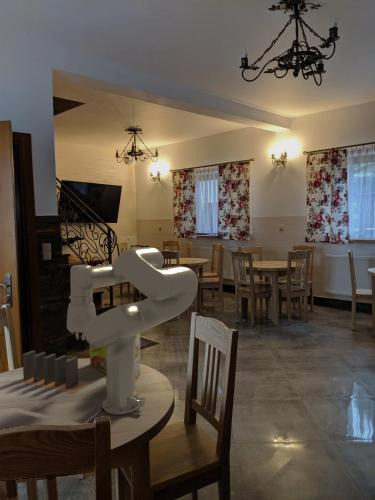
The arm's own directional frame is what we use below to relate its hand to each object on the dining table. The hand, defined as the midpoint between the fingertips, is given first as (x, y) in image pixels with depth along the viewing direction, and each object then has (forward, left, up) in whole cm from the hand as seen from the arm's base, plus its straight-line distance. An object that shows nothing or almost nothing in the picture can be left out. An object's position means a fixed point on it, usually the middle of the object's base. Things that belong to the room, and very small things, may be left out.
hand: (82, 349), depth 138 cm
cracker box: (-12, -11, -15) cm, 22 cm away
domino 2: (+20, 0, -14) cm, 25 cm away
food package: (+5, -17, -15) cm, 23 cm away
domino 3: (+15, 0, -14) cm, 21 cm away
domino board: (+14, 0, -15) cm, 21 cm away
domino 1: (+25, 0, -14) cm, 29 cm away
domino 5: (+5, 0, -14) cm, 15 cm away
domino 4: (+10, 0, -14) cm, 17 cm away
